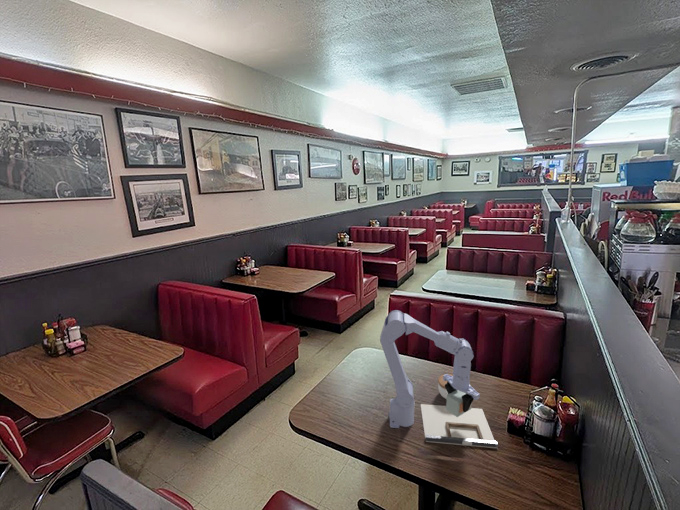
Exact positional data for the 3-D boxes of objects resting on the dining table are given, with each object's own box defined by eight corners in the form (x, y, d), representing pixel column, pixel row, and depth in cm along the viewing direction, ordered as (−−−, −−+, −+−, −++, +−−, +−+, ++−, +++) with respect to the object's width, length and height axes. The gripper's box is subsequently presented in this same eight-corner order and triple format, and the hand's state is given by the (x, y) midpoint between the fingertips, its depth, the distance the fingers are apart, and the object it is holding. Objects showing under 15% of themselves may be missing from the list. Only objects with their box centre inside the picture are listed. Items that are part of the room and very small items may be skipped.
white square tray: (425, 443, 117) (425, 437, 117) (420, 405, 137) (420, 400, 136) (497, 450, 114) (498, 444, 114) (481, 410, 133) (482, 405, 133)
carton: (445, 409, 123) (446, 395, 122) (460, 401, 127) (461, 387, 126) (457, 417, 119) (458, 403, 117) (472, 409, 123) (473, 395, 122)
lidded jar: (458, 409, 134) (460, 388, 132) (433, 399, 141) (434, 379, 138) (467, 395, 143) (468, 376, 140) (442, 386, 149) (443, 367, 147)
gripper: (486, 379, 116) (483, 413, 119) (452, 360, 128) (450, 392, 131) (473, 386, 112) (470, 421, 115) (439, 366, 124) (438, 398, 127)
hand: (459, 406), depth 123 cm, fingers closed on carton, 5 cm apart
